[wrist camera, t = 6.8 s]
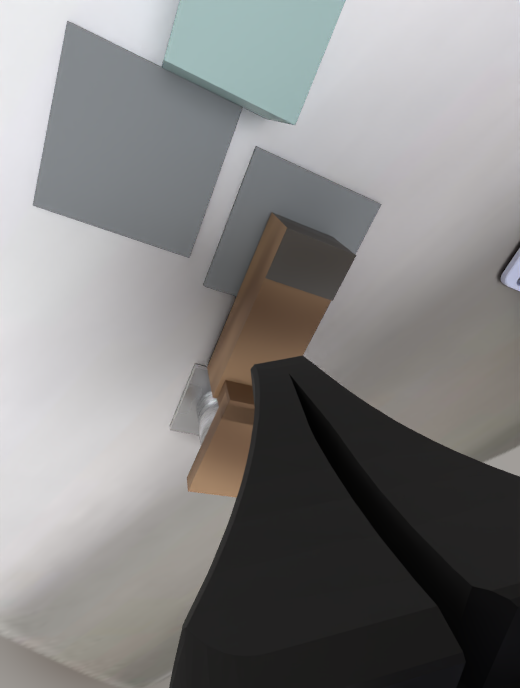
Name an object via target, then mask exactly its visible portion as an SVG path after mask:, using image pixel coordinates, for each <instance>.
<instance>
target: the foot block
mask: <svg viewBox="0 0 520 688" xmlns="http://www.w3.org/2000/svg"><path fill="white" fill-rule="evenodd" d="M345 1H346V0H180V2H179V6H178V10H177V13H176V17H175V21H174V24H173V28H172V32H171V36H170V39H169V43H168V47H167V50H166V54H165V58H164V61H163V65H162V68H164V69H166V70H168V71H170V72H172V73H174V74H176V75H178V76H180V77H182V78H184V79H186V80H188V81H190V82H192V83H194V84H197V85H199V86H201V87H203V88H205V89H207V90H209V91H211V92H213V93H215V94H217V95H219V96H221V97H223V98H225V99H227V100H229V101H231V102H233V103H235V104H237V105H239V106H241V107H243V108H245V109H247V110H249V111H251V112H253V113H255V114H257V115H260V116H262V117H264V118H266V119H269V120H274V121H279V122H283V123H288V124H292V125H295V124H296V122H297V119H298V117H299V114H300V112H301V110H302V107H303V105H304V102H305V100H306V97H307V95H308V92H309V90H310V87H311V85H312V82H313V80H314V77H315V75H316V72H317V70H318V67H319V65H320V63H321V60H322V58H323V55H324V53H325V50H326V48H327V45H328V43H329V40H330V38H331V35H332V33H333V30H334V28H335V25H336V23H337V20H338V18H339V15H340V13H341V11H342V8H343V6H344V3H345Z"/></svg>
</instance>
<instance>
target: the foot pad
mask: <svg viewBox="0 0 520 688" xmlns="http://www.w3.org/2000/svg"><path fill="white" fill-rule="evenodd" d="M380 206H381V204H380V203H378V202H375V201H373V200H371V199H369V198H367V197H365V196H363V195H360V194H358V193H356V192H354V191H352V190H350V189H347V188H345V187H343V186H341V185H339V184H337V183H334V182H332V181H330V180H328V179H326V178H324V177H321V176H319V175H317V174H315V173H313V172H311V171H308V170H306V169H304V168H302V167H300V166H298V165H295V164H293V163H291V162H289V161H287V160H285V159H283V158H280V157H278V156H276V155H274V154H272V153H270V152H267V151H265V150H263V149H261V148H259V147H257V146H256V147H255V150H254V153H253V155H252V158H251V161H250V163H249V166H248V168H247V171H246V174H245V176H244V179H243V182H242V184H241V187H240V190H239V192H238V195H237V197H236V200H235V203H234V205H233V208H232V211H231V213H230V216H229V219H228V221H227V224H226V226H225V229H224V232H223V234H222V237H221V240H220V242H219V245H218V248H217V250H216V253H215V255H214V258H213V261H212V263H211V266H210V269H209V271H208V274H207V277H206V279H205V282H204V284H203V285H204V286H205V287H208V288H211V289H215V290H218V291H221V292H224V293H227V294H231V295H234V296H237V294H238V292H239V290H240V287H241V285H242V282H243V280H244V278H245V275H246V273H247V270H248V268H249V266H250V263H251V261H252V258H253V256H254V254H255V251H256V249H257V246H258V244H259V242H260V239H261V237H262V234H263V232H264V230H265V227H266V225H267V222H268V220H269V218H270V215H271V213H275V214H277V215H280V216H282V217H285V218H287V219H290V220H292V221H295V222H297V223H300V224H302V225H305V226H307V227H310V228H312V229H315V230H317V231H320V232H322V233H324V234H327V235H329V236H332V237H334V238H335V239H336V240H338V241H339V242H340V243H341V244H343V245H344V246H345V247H346V248H348V249H349V250H350V251H351V252H353V253H354V254H356V252H357V250H358V248H359V247H360V245H361V243H362V241H363V239H364V237H365V235H366V233H367V231H368V229H369V227H370V225H371V223H372V222H373V220H374V218H375V216H376V214H377V212H378V210H379V208H380ZM323 316H324V315H323ZM322 318H323V317H322ZM321 320H322V319H321Z"/></svg>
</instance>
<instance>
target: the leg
mask: <svg viewBox="0 0 520 688" xmlns="http://www.w3.org/2000/svg"><path fill="white" fill-rule="evenodd" d="M355 257H356V255H355V254H354V253H353V252H351V251H350V250H349V249H348V248H346V247H345V246H344V245H343V244H341V243H340V242H339V241H338V240H336V239H335V238H334V237H332V236H329V235H327V234H324V233H322V232H320V231H317V230H315V229H312V228H310V227H307V226H305V225H302V224H300V223H297V222H295V221H292V220H290V219H287V218H285V217H282V216H280V215H277V214H275V213H271V215H270V218H269V220H268V222H267V225H266V227H265V230H264V232H263V234H262V237H261V239H260V242H259V244H258V246H257V249H256V251H255V254H254V256H253V258H252V261H251V263H250V266H249V268H248V270H247V273H246V275H245V278H244V280H243V282H242V285H241V287H240V290H239V292H238V294H237V297H236V299H235V302H234V304H233V306H232V309H231V311H230V314H229V316H228V318H227V321H226V323H225V326H224V328H223V330H222V333H221V335H220V338H219V340H218V342H217V345H216V347H215V350H214V352H213V354H212V357H211V359H210V362H209V364H208V366H207V370H208V375H209V381H210V386H211V391H212V396H213V398H217V401H218V406H219V408H218V410H217V412H216V414H215V416H214V419H213V421H212V423H211V425H210V428H209V430H208V432H207V434H206V436H205V439H204V441H203V443H202V445H201V448H200V450H199V452H198V454H197V456H196V459H195V461H194V463H193V465H192V468H191V470H190V472H189V474H188V476H187V484H188V491H190V492H198V493H206V494H214V495H222V496H230V497H237V495H238V492H239V489H240V485H241V482H242V478H243V474H244V470H245V466H246V462H247V458H248V453H249V448H250V442H251V435H252V429H253V422H254V409H255V406H254V397H253V388H252V379H251V370H250V369H251V368H252V367H253V366H254V364H259V363H265V362H270V361H276V360H281V359H287V358H292V357H297V356H303V354H304V352H305V350H306V348H307V346H308V344H309V342H310V341H311V339H312V337H313V335H314V333H315V331H316V329H317V327H318V325H319V323H320V321H321V319H322V317H323V315H324V314H325V312H326V310H327V308H328V306H329V304H330V302H331V300H332V301H333V299H334V297H335V295H336V293H337V291H338V289H339V287H340V285H341V283H342V282H343V280H344V278H345V276H346V274H347V272H348V270H349V268H350V266H351V264H352V262H353V260H354V258H355Z"/></svg>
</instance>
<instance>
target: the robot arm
mask: <svg viewBox="0 0 520 688" xmlns="http://www.w3.org/2000/svg"><path fill="white" fill-rule="evenodd" d="M519 278H520V248H519V250H518V251H517V253H516V254H515V256H514V257H513V258H512V260H511V261H510V263H509V264H508V266H507V267H506V269H505V270H504V272H503V273H502V275H501V282H502V283H503V284H504V285H506V286H508V287H510V288H513V289H515V290H517V291H520V279H519ZM518 279H519V280H518ZM517 280H518V281H517ZM250 370H251V379H252V388H253V397H254V406H255V409H254V422H253V429H252V435H251V442H250V448H249V453H248V458H247V462H246V466H245V470H244V474H243V478H242V482H241V485H240V489H239V492H238V495H237V498H236V502H235V505H234V508H233V511H232V514H231V517H230V520H229V522H228V525H227V528H226V530H225V533H224V535H223V538H222V540H221V543H220V545H219V548H218V550H217V553H216V555H215V558H214V560H213V562H212V565H211V567H210V569H209V572H208V574H207V576H206V578H205V580H204V582H203V584H202V586H201V588H200V590H199V592H198V595H197V597H196V599H195V601H194V603H193V605H192V607H191V609H190V611H189V613H188V615H187V617H186V619H185V621H184V624H183V626H182V632H181V636H180V640H179V644H178V649H177V653H176V657H175V662H174V667H173V671H172V676H171V682H170V687H169V688H520V477H519V476H516V475H513V474H511V473H508V472H505V471H503V470H500V469H497V468H495V467H492V466H490V465H487V464H485V463H482V462H480V461H477V460H475V459H473V458H470V457H468V456H466V455H463V454H461V453H459V452H456V451H454V450H452V449H449V448H447V447H445V446H443V445H441V444H439V443H437V442H435V441H433V440H431V439H429V438H427V437H425V436H423V435H421V434H419V433H417V432H415V431H413V430H411V429H409V428H407V427H406V426H404V425H402V424H400V423H398V422H397V421H395V420H393V419H392V418H390V417H388V416H387V415H385V414H383V413H382V412H380V411H379V410H377V409H375V408H374V407H372V406H371V405H369V404H368V403H366V402H364V401H363V400H361V399H360V398H359V397H357V396H356V395H354V394H353V393H351V392H350V391H349V390H347V389H346V388H344V387H343V386H342V385H340V384H339V383H338V382H336V381H335V380H334V379H332V378H331V377H330V376H328V375H327V374H326V373H325V372H323V371H322V370H321V369H319V368H318V367H317V366H316V365H314V364H313V363H312V362H310V361H309V360H308V359H306V358H305V357H304V356H297V357H292V358H287V359H281V360H276V361H270V362H265V363H259V364H254V366H253V367H252V368H251V369H250Z"/></svg>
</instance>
